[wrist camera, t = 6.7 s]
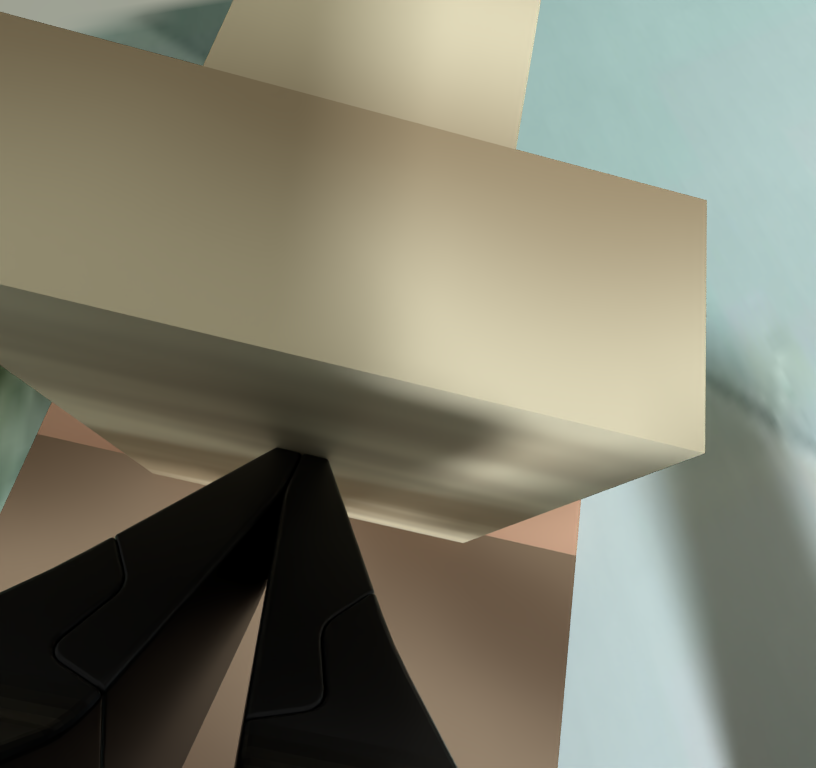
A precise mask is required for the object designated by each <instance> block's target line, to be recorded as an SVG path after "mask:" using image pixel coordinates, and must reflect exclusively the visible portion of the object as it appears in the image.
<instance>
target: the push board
mask: <svg viewBox="0 0 816 768" xmlns="http://www.w3.org/2000/svg"><path fill="white" fill-rule="evenodd" d="M204 486H206V485H202V484H198V483H193V482H189V481H184V480H180V479H175V478H171V477H166V476H162V475H157V474H153V473H151V472H150V471H149V470H147V469H146V468H144V467H143V466H142V465H140V464H139V463H137V462H136V461H135V460H133V459H132V458H130V457H129V456H127V455H126V454H125V453H123V452H122V451H120V450H119V449H118V448H116V447H115V446H113V445H112V444H111V443H109V442H108V441H106V440H105V439H104V438H102V437H101V436H99V435H98V434H97V433H95V432H94V431H92V430H91V429H89V428H88V427H87V426H85V425H84V424H82V423H81V422H80V421H78V420H77V419H75V418H74V417H73V416H71V415H70V414H68V413H67V412H66V411H64V410H63V409H61V408H60V407H59V406H57V405H56V404H54V403H53V402H52V403H51V405H50V407H49V409H48V411H47V414H46V416H45V418H44V420H43V422H42V424H41V427H40V429H39V431H38V433H37V435H36V437H35V440H34V442H33V444H32V446H31V448H30V450H29V453H28V455H27V457H26V459H25V461H24V463H23V466H22V468H21V470H20V472H19V474H18V476H17V479H16V481H15V483H14V485H13V487H12V489H11V492H10V494H9V496H8V498H7V500H6V502H5V505H4V507H3V509H2V511H1V513H0V592H2V591H4V590H6V589H8V588H11V587H13V586H15V585H17V584H19V583H21V582H24V581H26V580H28V579H30V578H32V577H34V576H36V575H39V574H41V573H43V572H45V571H47V570H49V569H51V568H53V567H55V566H57V565H59V564H61V563H63V562H65V561H67V560H69V559H71V558H73V557H75V556H77V555H79V554H81V553H83V552H84V551H86V550H88V549H90V548H92V547H94V546H96V545H97V544H99V543H101V542H103V541H105V540H107V539H108V538H111V537H113V538H115V536H116V534H118V533H120V532H122V531H124V530H125V529H127V528H129V527H131V526H133V525H135V524H136V523H138V522H140V521H142V520H144V519H146V518H147V517H149V516H151V515H153V514H155V513H157V512H158V511H160V510H162V509H164V508H166V507H168V506H169V505H171V504H173V503H175V502H177V501H179V500H180V499H182V498H184V497H186V496H188V495H190V494H191V493H193V492H195V491H197V490H199V489H200V488H202V487H204ZM580 505H581V500H578V501H575V502H573V503H570V504H567V505H564V506H562V507H559V508H556V509H554V510H551V511H548V512H546V513H543V514H540V515H538V516H535V517H532V518H529V519H527V520H524V521H521V522H519V523H516V524H513V525H511V526H508V527H505V528H503V529H500V530H497V531H494V532H492V533H489V534H486V535H484V536H481V537H478V538H476V539H473V540H470V541H468V542H465V543H461V542H456V541H452V540H447V539H443V538H438V537H434V536H429V535H425V534H420V533H416V532H412V531H407V530H403V529H398V528H394V527H389V526H385V525H380V524H376V523H371V522H367V521H362V520H358V519H354V518H349V520H350V523H351V526H352V529H353V532H354V534H355V537H356V540H357V543H358V546H359V549H360V552H361V554H362V557H363V560H364V563H365V566H366V569H367V572H368V574H369V577H370V580H371V583H372V586H373V589H374V594H375V595H376V597H377V599H378V602H379V605H380V608H381V611H382V614H383V617H384V619H385V622H386V624H387V627H388V629H389V632H390V634H391V637H392V639H393V642H394V644H395V646H396V648H397V651H398V653H399V655H400V657H401V659H402V661H403V663H404V665H405V667H406V669H407V671H408V673H409V675H410V677H411V679H412V681H413V683H414V685H415V687H416V689H417V691H418V693H419V695H420V696H421V698H422V700H423V702H424V704H425V706H426V708H427V710H428V712H429V714H430V716H431V718H432V720H433V721H434V723H435V725H436V727H437V729H438V731H439V733H440V735H441V737H442V739H443V741H444V743H445V744H446V746H447V748H448V750H449V752H450V754H451V756H452V758H453V760H454V762H455V764H456V765H457V767H458V768H558V756H559V745H560V734H561V722H562V711H563V699H564V688H565V676H566V665H567V653H568V642H569V631H570V619H571V608H572V596H573V585H574V573H575V562H576V550H577V539H578V527H579V516H580ZM265 590H266V588H265ZM265 590H264V592H263V595H262V597H261V599H260V602H259V604H258V606H257V608H256V611H255V613H254V615H253V617H252V619H251V621H250V623H249V626H248V628H247V630H246V632H245V634H244V636H243V638H242V641H241V643H240V645H239V647H238V649H237V651H236V653H235V656H234V658H233V660H232V662H231V664H230V666H229V668H228V670H227V673H226V675H225V677H224V679H223V681H222V683H221V685H220V688H219V690H218V692H217V694H216V696H215V698H214V700H213V703H212V705H211V707H210V709H209V711H208V713H207V715H206V718H205V720H204V722H203V724H202V726H201V728H200V730H199V733H198V735H197V737H196V739H195V741H194V743H193V745H192V748H191V750H190V752H189V754H188V756H187V758H186V760H185V763H184V765H183V767H182V768H234V763H235V758H236V752H237V747H238V741H239V735H240V730H241V724H242V719H243V713H244V707H245V702H246V696H247V691H248V685H249V680H250V674H251V668H252V663H253V657H254V652H255V646H256V640H257V635H258V629H259V624H260V618H261V613H262V607H263V601H264V596H265Z"/></svg>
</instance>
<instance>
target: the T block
mask: <svg viewBox="0 0 816 768" xmlns="http://www.w3.org/2000/svg"><path fill="white" fill-rule="evenodd" d="M540 2H541V0H233V2H232V4H231V6H230V9H229V11H228V13H227V15H226V17H225V19H224V21H223V24H222V26H221V28H220V30H219V32H218V34H217V37H216V39H215V41H214V43H213V45H212V47H211V49H210V52H209V54H208V56H207V58H206V60H205V62H204V65H203V66H201V65H198V64H194V63H190V62H187V61H183V60H179V59H175V58H172V57H168V56H164V55H160V54H157V53H153V52H149V51H145V50H142V49H138V48H134V47H130V46H127V45H123V44H119V43H115V42H112V41H108V40H104V39H100V38H97V37H93V36H89V35H85V34H82V33H78V32H74V31H70V30H67V29H63V28H59V27H55V26H52V25H47V24H44V23H40V22H37V21H32V20H29V19H25V18H21V17H18V16H14V15H10V14H6V13H3V12H0V365H1V366H2V367H4V368H5V369H6V370H8V371H9V372H11V373H12V374H14V375H15V376H16V377H18V378H19V379H21V380H22V381H23V382H25V383H26V384H28V385H29V386H30V387H32V388H33V389H35V390H36V391H37V392H39V393H40V394H42V395H43V396H44V397H46V398H47V399H49V400H50V401H52V402H53V403H54V404H56V405H57V406H59V407H60V408H61V409H63V410H64V411H66V412H67V413H68V414H70V415H71V416H73V417H74V418H75V419H77V420H78V421H80V422H81V423H82V424H84V425H85V426H87V427H88V428H89V429H91V430H92V431H94V432H95V433H97V434H98V435H99V436H101V437H102V438H104V439H105V440H106V441H108V442H109V443H111V444H112V445H113V446H115V447H116V448H118V449H119V450H120V451H122V452H123V453H125V454H126V455H127V456H129V457H130V458H132V459H133V460H135V461H136V462H137V463H139V464H140V465H142V466H143V467H144V468H146V469H147V470H149V471H150V472H151V473H153V474H157V475H162V476H166V477H171V478H175V479H180V480H184V481H189V482H193V483H198V484H202V485H208V484H210V483H211V482H213V481H215V480H217V479H219V478H221V477H222V476H224V475H226V474H228V473H230V472H232V471H233V470H235V469H237V468H239V467H241V466H243V465H244V464H246V463H248V462H250V461H252V460H254V459H255V458H257V457H259V456H261V455H263V454H265V453H266V452H268V451H270V450H272V449H274V448H276V447H278V448H283V449H287V450H291V451H296V452H299V453H300V454H301V457H302V455H303V454H309V455H313V456H317V457H322V458H326V459H328V461H329V463H330V466H331V469H332V471H333V474H334V477H335V480H336V483H337V486H338V489H339V491H340V494H341V497H342V500H343V503H344V506H345V509H346V511H347V514H348V517H349V518H354V519H358V520H362V521H367V522H371V523H376V524H380V525H385V526H389V527H394V528H398V529H403V530H407V531H412V532H416V533H420V534H425V535H429V536H434V537H438V538H443V539H447V540H452V541H456V542H461V543H465V542H468V541H470V540H473V539H476V538H478V537H481V536H484V535H486V534H489V533H492V532H494V531H497V530H500V529H503V528H505V527H508V526H511V525H513V524H516V523H519V522H521V521H524V520H527V519H529V518H532V517H535V516H538V515H540V514H543V513H546V512H548V511H551V510H554V509H556V508H559V507H562V506H564V505H567V504H570V503H573V502H575V501H578V500H581V499H583V498H586V497H589V496H591V495H594V494H597V493H599V492H602V491H605V490H608V489H610V488H613V487H616V486H618V485H621V484H624V483H626V482H629V481H632V480H634V479H637V478H640V477H643V476H645V475H648V474H651V473H653V472H656V471H659V470H661V469H664V468H667V467H669V466H672V465H675V464H678V463H680V462H683V461H686V460H688V459H691V458H694V457H696V456H699V455H702V454H705V388H706V228H707V200H704V199H700V198H696V197H692V196H689V195H685V194H681V193H677V192H674V191H670V190H666V189H662V188H659V187H655V186H651V185H647V184H644V183H640V182H636V181H632V180H629V179H625V178H621V177H617V176H614V175H610V174H606V173H602V172H599V171H595V170H591V169H587V168H584V167H580V166H576V165H572V164H569V163H565V162H561V161H557V160H554V159H550V158H546V157H542V156H539V155H535V154H531V153H527V152H524V151H520V150H516V145H517V139H518V133H519V127H520V121H521V115H522V109H523V103H524V98H525V92H526V86H527V80H528V74H529V68H530V62H531V56H532V50H533V44H534V38H535V32H536V26H537V20H538V14H539V8H540Z"/></svg>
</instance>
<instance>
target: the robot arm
mask: <svg viewBox="0 0 816 768" xmlns="http://www.w3.org/2000/svg"><path fill="white" fill-rule="evenodd" d="M265 588H266V590H265ZM264 590H265V596H264V601H263V607H262V613H261V618H260V624H259V629H258V635H257V640H256V646H255V652H254V657H253V663H252V668H251V674H250V680H249V685H248V691H247V696H246V702H245V707H244V713H243V719H242V724H241V730H240V735H239V741H238V747H237V752H236V758H235V763H234V768H458V767H457V765H456V764H455V762H454V760H453V758H452V756H451V754H450V752H449V750H448V748H447V746H446V744H445V743H444V741H443V739H442V737H441V735H440V733H439V731H438V729H437V727H436V725H435V723H434V721H433V720H432V718H431V716H430V714H429V712H428V710H427V708H426V706H425V704H424V702H423V700H422V698H421V696H420V695H419V693H418V691H417V689H416V687H415V685H414V683H413V681H412V679H411V677H410V675H409V673H408V671H407V669H406V667H405V665H404V663H403V661H402V659H401V657H400V655H399V653H398V651H397V648H396V646H395V644H394V642H393V639H392V637H391V634H390V632H389V629H388V627H387V624H386V622H385V619H384V617H383V614H382V611H381V608H380V605H379V602H378V599H377V597H376V595H375V594H374V589H373V586H372V583H371V580H370V577H369V574H368V572H367V569H366V566H365V563H364V560H363V557H362V554H361V552H360V549H359V546H358V543H357V540H356V537H355V534H354V532H353V529H352V526H351V523H350V520H349V517H348V514H347V511H346V509H345V506H344V503H343V500H342V497H341V494H340V491H339V489H338V486H337V483H336V480H335V477H334V474H333V471H332V469H331V466H330V463H329V461H328V459H326V458H322V457H317V456H313V455H309V454H303V455H302V457H301V454H300V453H299V452H296V451H291V450H287V449H283V448H278V447H276V448H274V449H272V450H270V451H268V452H266V453H265V454H263V455H261V456H259V457H257V458H255V459H254V460H252V461H250V462H248V463H246V464H244V465H243V466H241V467H239V468H237V469H235V470H233V471H232V472H230V473H228V474H226V475H224V476H222V477H221V478H219V479H217V480H215V481H213V482H211V483H210V484H208V485H206V486H204V487H202V488H200V489H199V490H197V491H195V492H193V493H191V494H190V495H188V496H186V497H184V498H182V499H180V500H179V501H177V502H175V503H173V504H171V505H169V506H168V507H166V508H164V509H162V510H160V511H158V512H157V513H155V514H153V515H151V516H149V517H147V518H146V519H144V520H142V521H140V522H138V523H136V524H135V525H133V526H131V527H129V528H127V529H125V530H124V531H122V532H120V533H118V534H116V536H115V538H113V537H111V538H108V539H107V540H105V541H103V542H101V543H99V544H97V545H96V546H94V547H92V548H90V549H88V550H86V551H84V552H83V553H81V554H79V555H77V556H75V557H73V558H71V559H69V560H67V561H65V562H63V563H61V564H59V565H57V566H55V567H53V568H51V569H49V570H47V571H45V572H43V573H41V574H39V575H36V576H34V577H32V578H30V579H28V580H26V581H24V582H21V583H19V584H17V585H15V586H13V587H11V588H8V589H6V590H4V591H2V592H0V768H182V767H183V765H184V763H185V760H186V758H187V756H188V754H189V752H190V750H191V748H192V745H193V743H194V741H195V739H196V737H197V735H198V733H199V730H200V728H201V726H202V724H203V722H204V720H205V718H206V715H207V713H208V711H209V709H210V707H211V705H212V703H213V700H214V698H215V696H216V694H217V692H218V690H219V688H220V685H221V683H222V681H223V679H224V677H225V675H226V673H227V670H228V668H229V666H230V664H231V662H232V660H233V658H234V656H235V653H236V651H237V649H238V647H239V645H240V643H241V641H242V638H243V636H244V634H245V632H246V630H247V628H248V626H249V623H250V621H251V619H252V617H253V615H254V613H255V611H256V608H257V606H258V604H259V602H260V599H261V597H262V595H263V592H264Z"/></svg>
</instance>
